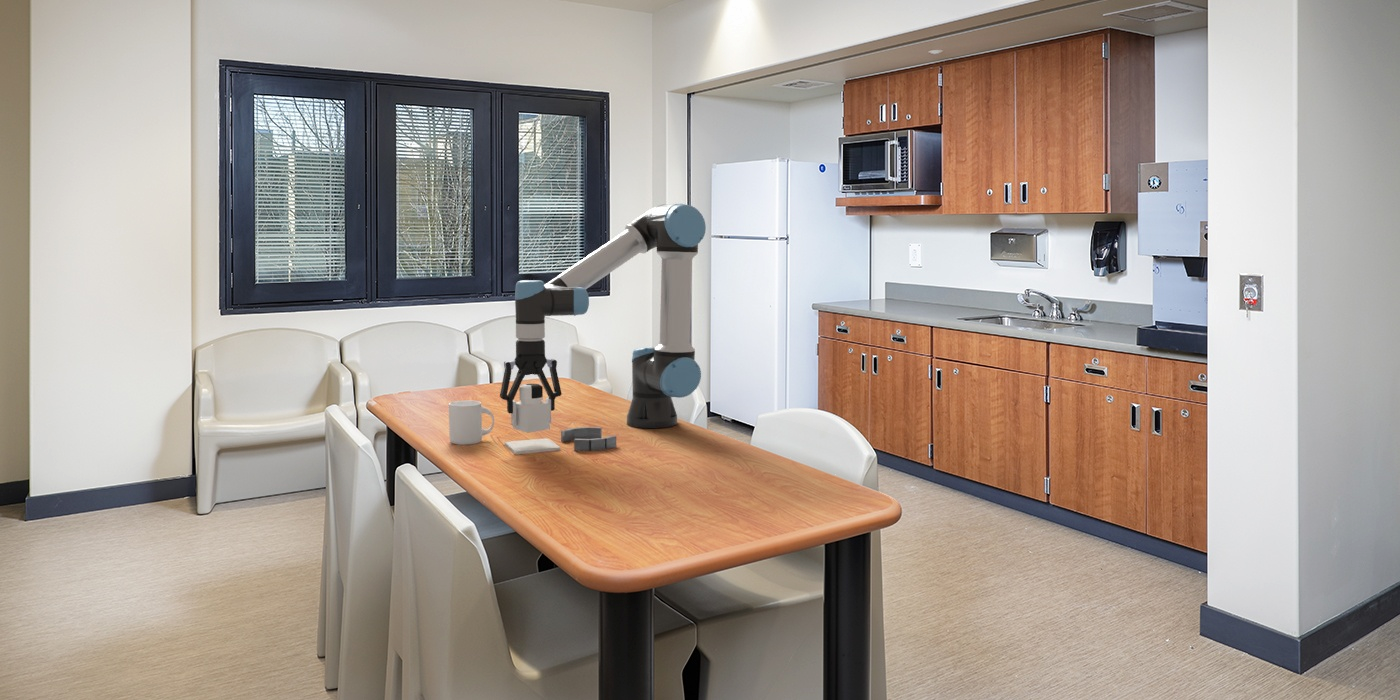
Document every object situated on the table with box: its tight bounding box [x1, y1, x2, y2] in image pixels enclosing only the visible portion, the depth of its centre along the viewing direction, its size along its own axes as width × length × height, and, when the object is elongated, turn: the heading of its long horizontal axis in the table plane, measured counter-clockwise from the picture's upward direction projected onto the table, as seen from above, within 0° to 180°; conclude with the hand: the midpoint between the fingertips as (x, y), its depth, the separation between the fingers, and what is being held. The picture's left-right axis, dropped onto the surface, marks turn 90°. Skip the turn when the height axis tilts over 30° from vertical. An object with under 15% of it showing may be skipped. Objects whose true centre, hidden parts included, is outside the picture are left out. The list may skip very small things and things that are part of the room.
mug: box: [448, 399, 495, 446], centre depth 263 cm, size 9×12×11 cm
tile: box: [503, 437, 561, 455], centre depth 256 cm, size 12×12×1 cm
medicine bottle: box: [512, 383, 551, 434], centre depth 254 cm, size 7×7×12 cm
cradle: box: [560, 426, 617, 452], centre depth 260 cm, size 12×16×3 cm
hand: (531, 424), depth 255 cm, fingers closed on medicine bottle, 9 cm apart
